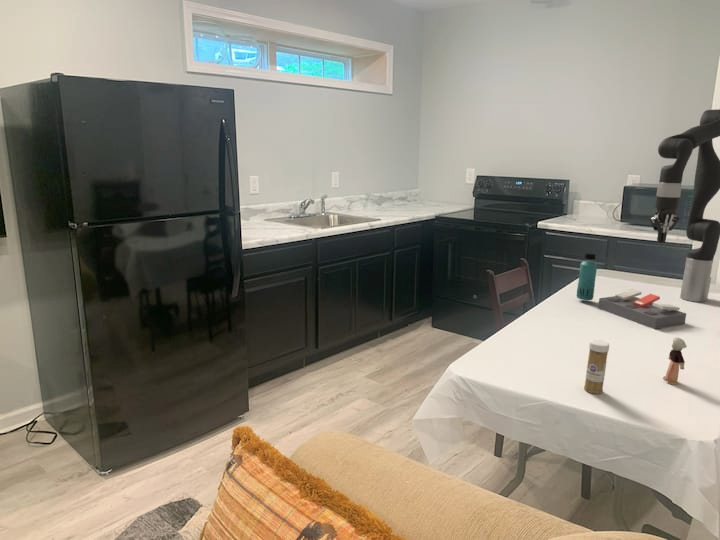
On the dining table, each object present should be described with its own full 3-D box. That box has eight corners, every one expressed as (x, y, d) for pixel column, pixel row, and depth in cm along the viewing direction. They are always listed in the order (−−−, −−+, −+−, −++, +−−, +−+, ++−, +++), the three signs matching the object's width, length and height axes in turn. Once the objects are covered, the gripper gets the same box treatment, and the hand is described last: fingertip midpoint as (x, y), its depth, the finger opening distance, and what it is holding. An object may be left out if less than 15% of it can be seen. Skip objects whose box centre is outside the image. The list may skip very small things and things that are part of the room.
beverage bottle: (590, 299, 219) (596, 251, 214) (595, 304, 212) (601, 255, 208) (573, 298, 219) (579, 251, 215) (578, 303, 213) (584, 254, 208)
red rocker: (650, 297, 202) (650, 293, 202) (660, 300, 199) (659, 296, 198) (633, 306, 200) (632, 301, 199) (642, 309, 196) (642, 304, 196)
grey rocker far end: (668, 309, 196) (669, 304, 195) (678, 312, 192) (679, 307, 192) (651, 307, 192) (653, 302, 192) (661, 310, 188) (663, 305, 188)
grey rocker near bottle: (632, 293, 210) (632, 288, 209) (641, 295, 206) (641, 291, 206) (615, 299, 207) (615, 294, 206) (624, 302, 203) (624, 297, 203)
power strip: (626, 304, 213) (627, 293, 212) (684, 324, 191) (686, 312, 190) (598, 308, 208) (599, 297, 207) (654, 329, 185) (656, 317, 184)
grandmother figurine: (656, 376, 148) (663, 333, 145) (669, 375, 149) (676, 333, 146) (674, 388, 141) (682, 343, 138) (688, 388, 141) (696, 343, 138)
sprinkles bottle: (582, 391, 139) (588, 343, 135) (585, 385, 142) (591, 337, 139) (601, 396, 136) (608, 346, 133) (604, 389, 140) (610, 341, 137)
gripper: (671, 193, 199) (664, 239, 204) (646, 194, 194) (639, 241, 199) (690, 195, 193) (682, 243, 197) (664, 196, 188) (657, 245, 192)
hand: (660, 242), depth 198 cm, fingers closed
